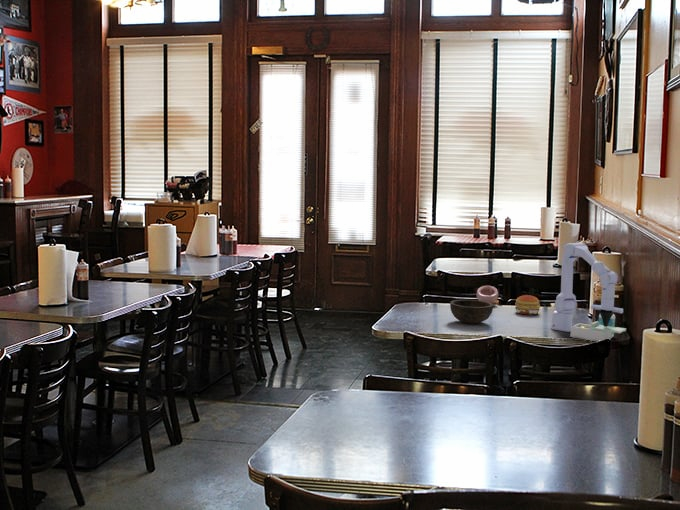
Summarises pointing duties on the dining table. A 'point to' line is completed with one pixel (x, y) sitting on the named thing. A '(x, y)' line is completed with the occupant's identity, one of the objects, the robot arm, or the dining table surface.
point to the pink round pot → (487, 294)
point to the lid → (606, 328)
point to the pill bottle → (611, 323)
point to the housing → (588, 333)
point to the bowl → (471, 310)
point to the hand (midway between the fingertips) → (605, 326)
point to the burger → (527, 304)
